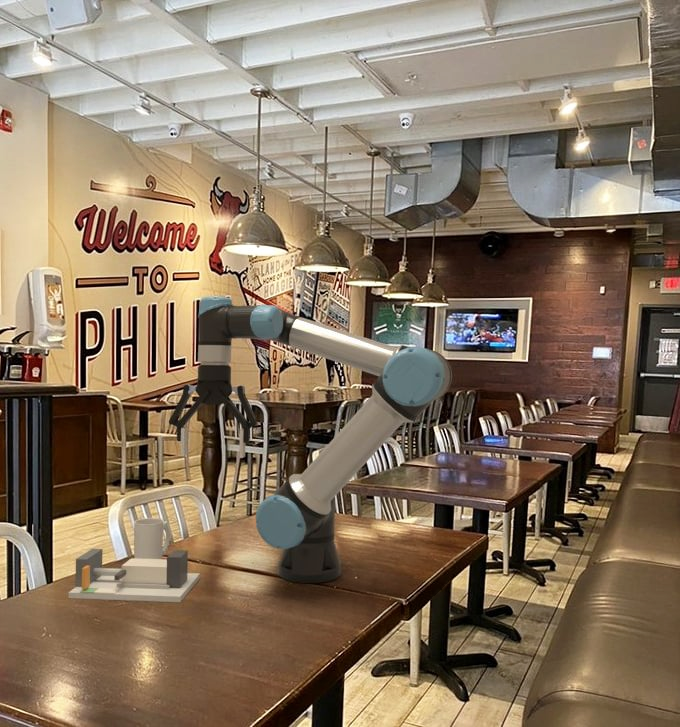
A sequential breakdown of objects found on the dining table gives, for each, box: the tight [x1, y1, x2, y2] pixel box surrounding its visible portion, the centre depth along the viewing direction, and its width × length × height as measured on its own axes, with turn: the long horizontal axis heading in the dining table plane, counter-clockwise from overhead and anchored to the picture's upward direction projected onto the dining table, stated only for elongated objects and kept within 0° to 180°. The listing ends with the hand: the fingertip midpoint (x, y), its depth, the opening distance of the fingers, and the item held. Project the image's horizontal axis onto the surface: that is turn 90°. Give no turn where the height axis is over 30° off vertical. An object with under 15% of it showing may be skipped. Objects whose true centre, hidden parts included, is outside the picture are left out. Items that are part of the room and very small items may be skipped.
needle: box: [82, 566, 90, 589], centre depth 136 cm, size 1×2×4 cm, turn 177°
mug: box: [133, 517, 171, 559], centre depth 155 cm, size 10×7×12 cm, turn 147°
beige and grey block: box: [114, 549, 189, 587], centre depth 140 cm, size 13×9×6 cm
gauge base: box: [68, 548, 201, 603], centre depth 142 cm, size 24×15×7 cm, turn 87°
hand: (213, 456), depth 147 cm, fingers open, 13 cm apart
